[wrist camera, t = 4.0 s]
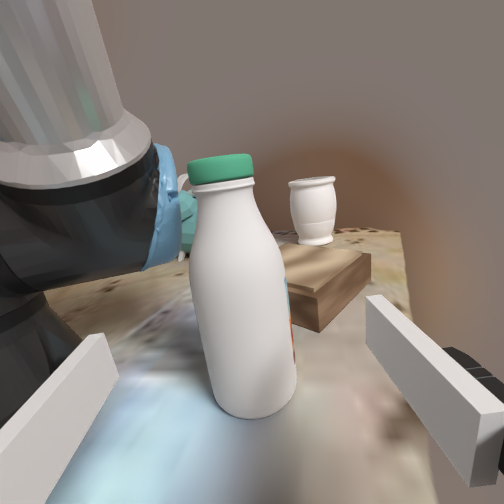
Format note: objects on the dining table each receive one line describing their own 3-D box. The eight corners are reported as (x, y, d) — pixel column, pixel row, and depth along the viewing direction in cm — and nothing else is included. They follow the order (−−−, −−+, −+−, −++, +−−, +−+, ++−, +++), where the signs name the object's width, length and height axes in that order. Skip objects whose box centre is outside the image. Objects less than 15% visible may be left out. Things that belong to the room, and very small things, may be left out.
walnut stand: (227, 300, 41) (221, 270, 40) (287, 265, 52) (284, 241, 51) (319, 332, 30) (316, 293, 29) (371, 280, 41) (371, 249, 40)
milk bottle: (301, 422, 20) (272, 144, 14) (204, 424, 21) (140, 164, 15) (295, 354, 28) (274, 151, 22) (223, 358, 29) (184, 164, 23)
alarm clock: (196, 244, 78) (182, 174, 72) (226, 242, 76) (214, 170, 70) (163, 266, 63) (142, 179, 57) (199, 265, 60) (181, 173, 54)
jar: (321, 233, 71) (318, 176, 67) (347, 241, 62) (345, 175, 57) (286, 242, 68) (280, 182, 64) (307, 251, 59) (302, 182, 54)
